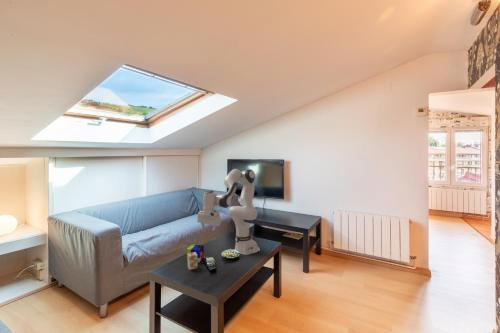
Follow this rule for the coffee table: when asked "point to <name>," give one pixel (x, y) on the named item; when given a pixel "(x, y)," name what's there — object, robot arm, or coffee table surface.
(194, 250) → the puzzle toy
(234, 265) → the coffee table surface
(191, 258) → the tower mid
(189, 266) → the tower base
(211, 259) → the sage cube
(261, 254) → the coffee table surface
